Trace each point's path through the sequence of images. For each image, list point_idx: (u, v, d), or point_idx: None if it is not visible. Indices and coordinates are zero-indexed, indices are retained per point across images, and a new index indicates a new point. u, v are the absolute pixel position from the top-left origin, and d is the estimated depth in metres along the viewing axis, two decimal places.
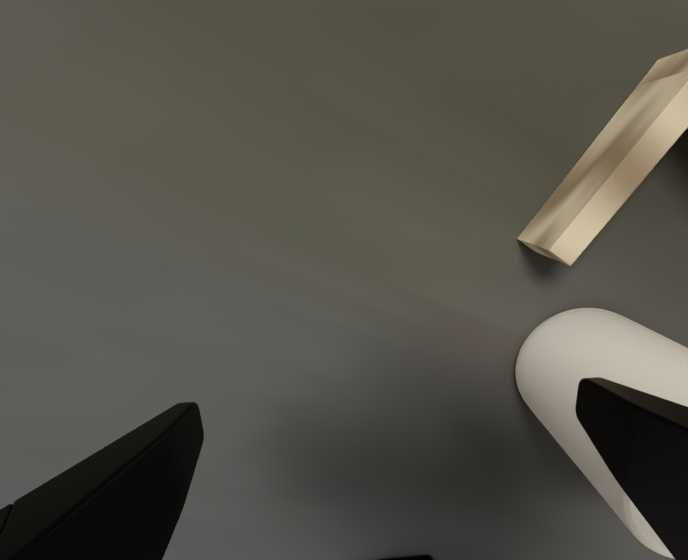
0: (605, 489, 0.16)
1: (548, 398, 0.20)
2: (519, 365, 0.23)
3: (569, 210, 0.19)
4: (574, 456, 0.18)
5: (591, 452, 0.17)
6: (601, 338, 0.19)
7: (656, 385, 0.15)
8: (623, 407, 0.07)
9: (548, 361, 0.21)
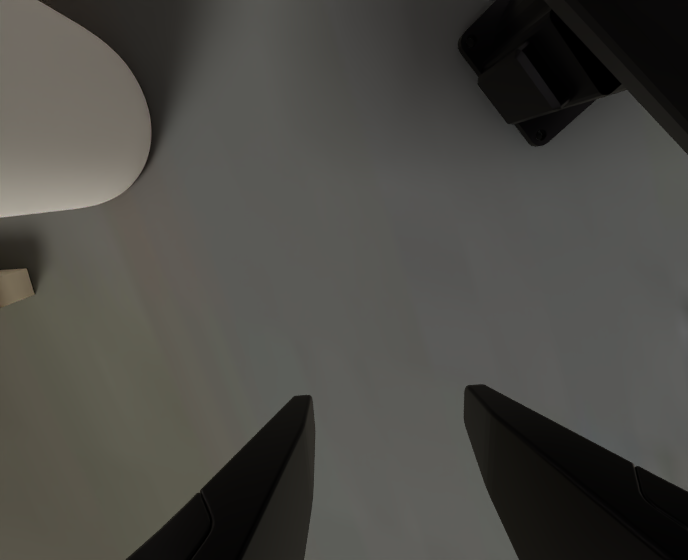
0: None
1: (69, 197, 0.15)
2: (117, 194, 0.18)
3: None
4: (49, 160, 0.12)
5: None
6: None
7: None
8: (488, 415, 0.07)
9: (56, 210, 0.16)
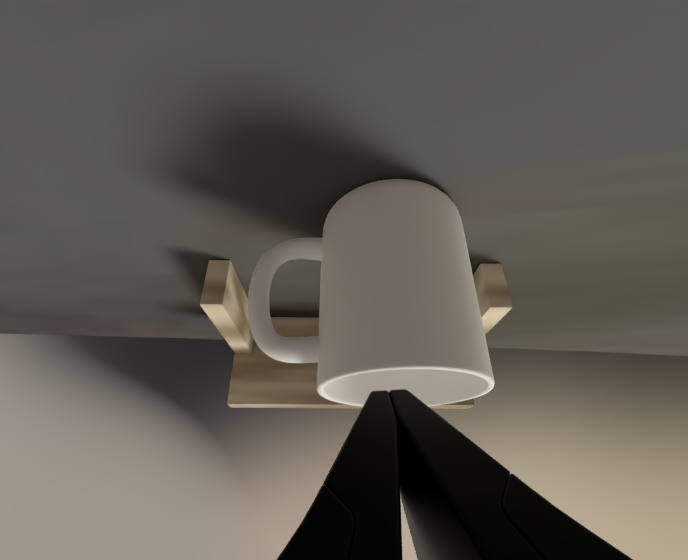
0: (474, 347, 0.15)
1: (470, 268, 0.19)
2: (459, 216, 0.20)
3: None
4: (461, 296, 0.16)
5: (482, 333, 0.16)
6: None
7: None
8: None
9: None
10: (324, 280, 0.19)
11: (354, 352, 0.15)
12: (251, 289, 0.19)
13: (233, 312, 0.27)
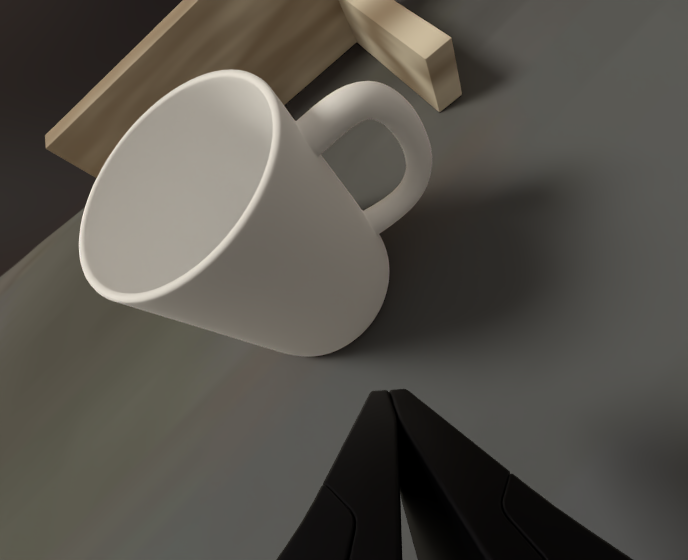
0: (159, 313, 0.11)
1: None
2: None
3: None
4: (219, 330, 0.13)
5: None
6: None
7: None
8: None
9: None
10: (354, 211, 0.14)
11: (282, 205, 0.10)
12: (426, 140, 0.14)
13: (399, 48, 0.19)
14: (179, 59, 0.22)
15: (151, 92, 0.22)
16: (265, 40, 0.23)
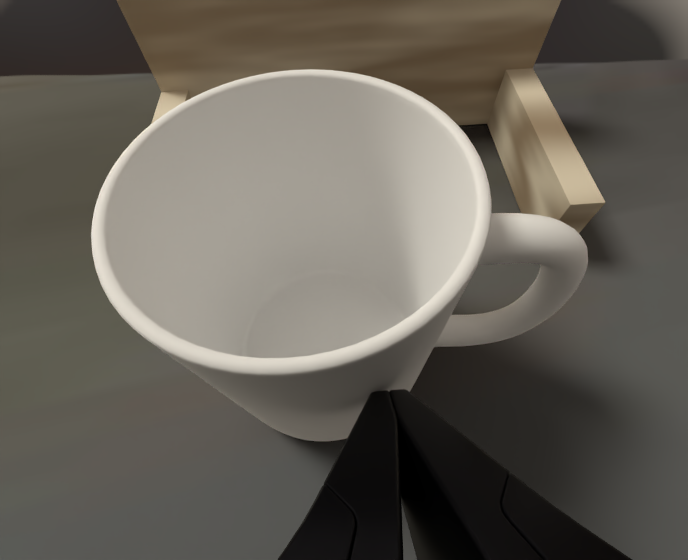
0: None
1: None
2: None
3: None
4: None
5: None
6: None
7: None
8: None
9: None
10: None
11: (428, 333, 0.07)
12: None
13: (542, 170, 0.17)
14: (325, 19, 0.18)
15: (273, 28, 0.18)
16: (416, 64, 0.20)
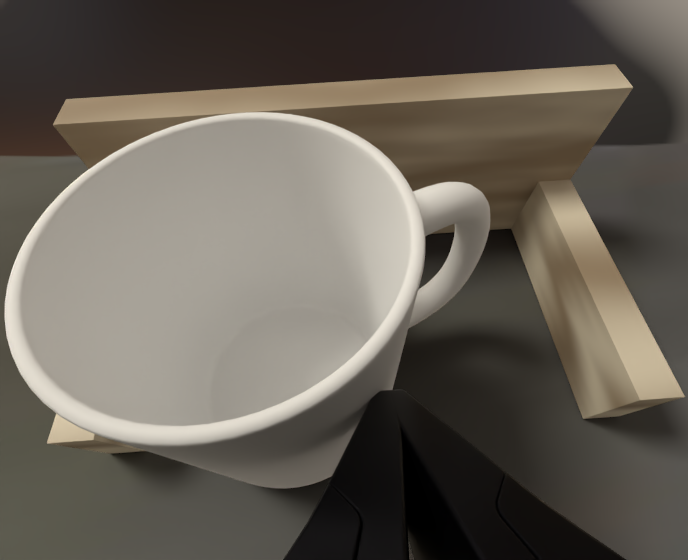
0: (165, 454, 0.06)
1: None
2: None
3: None
4: (223, 471, 0.08)
5: None
6: None
7: None
8: None
9: None
10: None
11: (412, 312, 0.07)
12: None
13: (594, 331, 0.14)
14: None
15: None
16: (432, 178, 0.17)
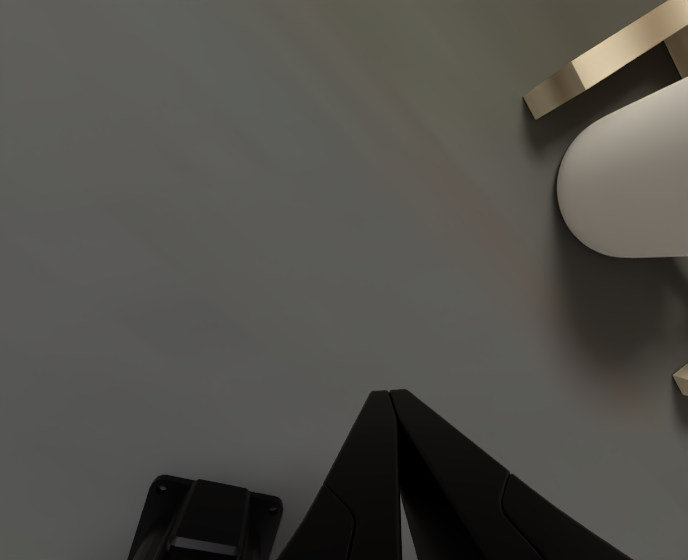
0: None
1: (621, 163, 0.17)
2: (564, 179, 0.20)
3: None
4: (681, 191, 0.15)
5: None
6: (661, 89, 0.17)
7: None
8: None
9: (606, 136, 0.18)
10: None
11: None
12: None
13: None
14: None
15: None
16: None
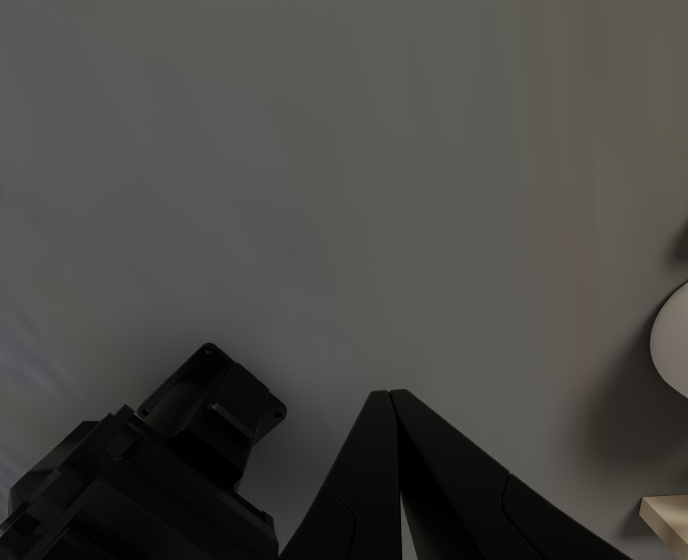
0: None
1: None
2: (680, 300, 0.20)
3: None
4: None
5: None
6: None
7: None
8: (398, 421, 0.07)
9: None
10: None
11: None
12: None
13: None
14: None
15: None
16: None
